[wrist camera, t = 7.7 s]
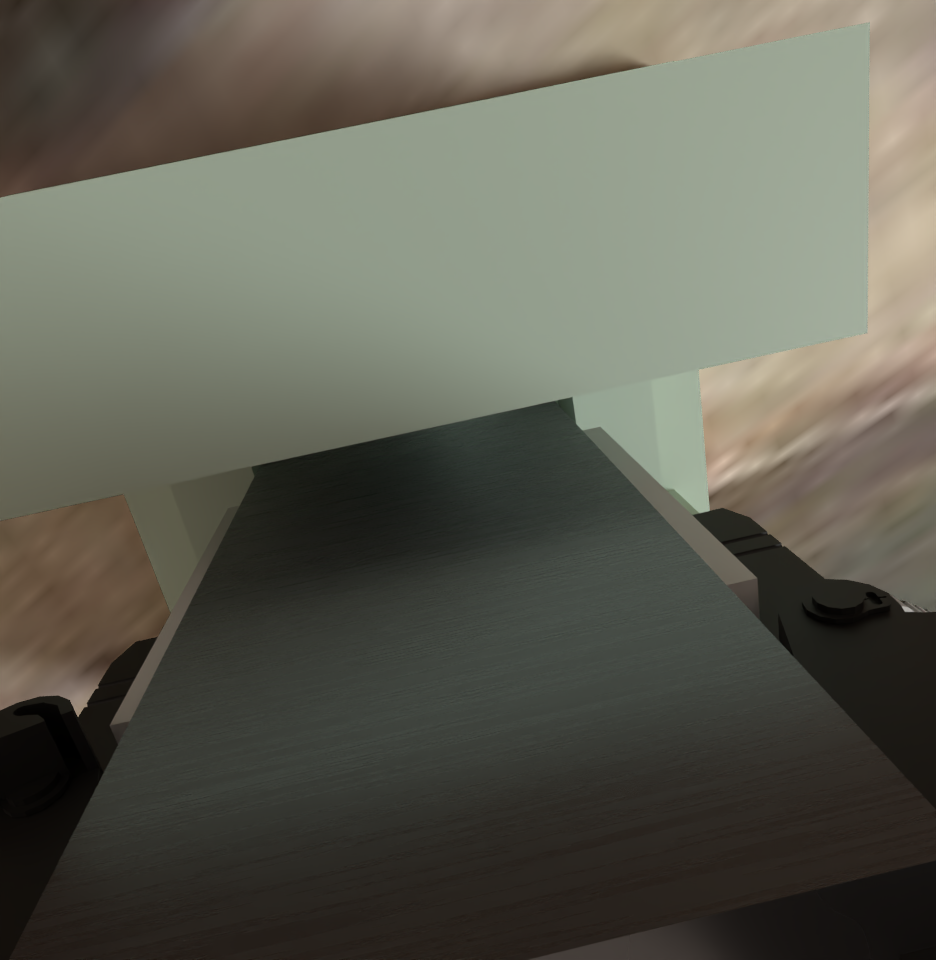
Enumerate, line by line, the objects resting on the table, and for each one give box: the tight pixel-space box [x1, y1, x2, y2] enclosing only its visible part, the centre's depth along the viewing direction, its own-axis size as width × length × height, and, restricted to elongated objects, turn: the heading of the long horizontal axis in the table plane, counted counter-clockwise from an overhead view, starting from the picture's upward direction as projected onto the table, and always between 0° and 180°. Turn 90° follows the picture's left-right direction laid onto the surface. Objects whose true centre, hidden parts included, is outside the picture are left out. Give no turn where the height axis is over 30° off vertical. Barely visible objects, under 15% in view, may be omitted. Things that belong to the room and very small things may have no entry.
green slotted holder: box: [0, 22, 870, 613], centre depth 16 cm, size 16×16×10 cm
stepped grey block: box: [9, 401, 936, 960], centre depth 12 cm, size 7×6×14 cm
